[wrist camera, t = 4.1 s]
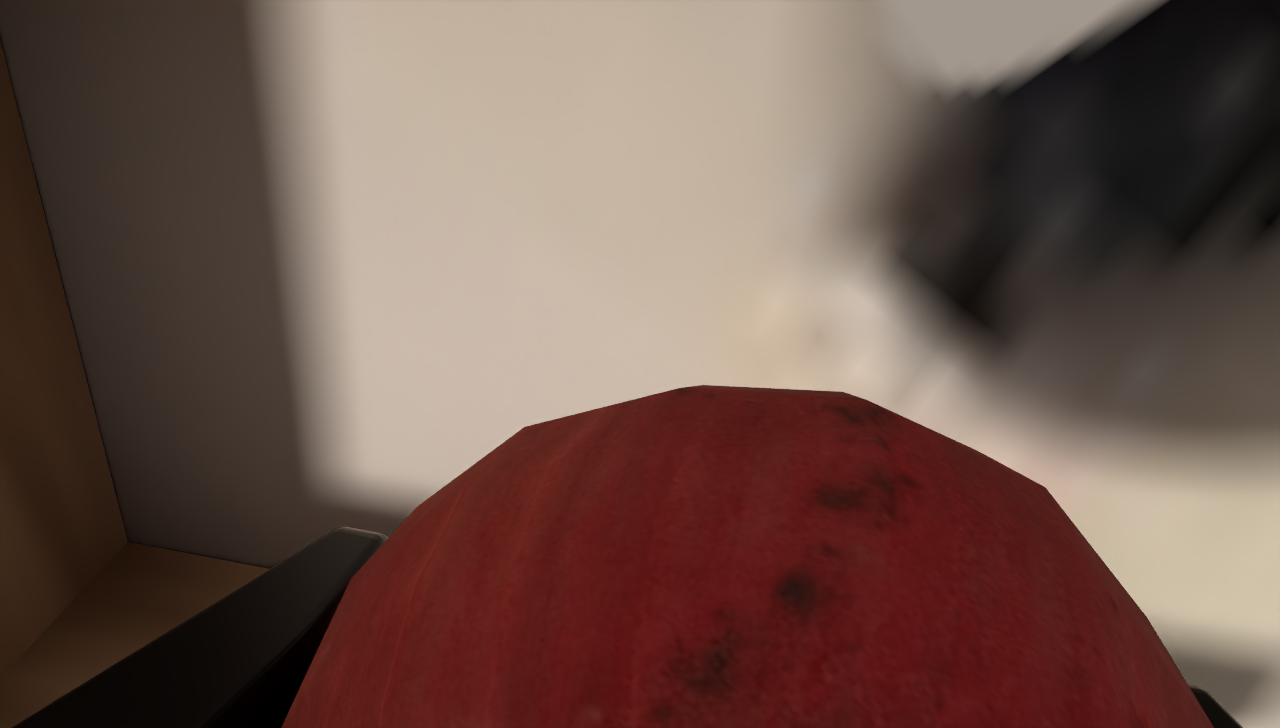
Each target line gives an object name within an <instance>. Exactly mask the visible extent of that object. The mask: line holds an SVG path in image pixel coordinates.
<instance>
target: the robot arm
mask: <svg viewBox="0 0 1280 728" xmlns="http://www.w3.org/2000/svg"><path fill="white" fill-rule="evenodd" d="M387 539H388V537H387V536H386V535H384V534H382V533H378V532H372V531H367V530H362V529H356V528H351V527H341V528H338V529H335V530H333V531H331V532H330V533H328V534H326V535H325V536H323V537H321V538H320V539H318V540H316V541H315V542H313V543H312V544H310V545H308V546H307V547H305V548H303V549H302V550H300V551H299V552H297V553H295V554H294V555H292V556H290V557H289V558H287V559H285V560H284V561H282V562H281V563H279V564H277V565H276V566H274V567H272V568H271V569H269V570H267V571H266V572H264V573H263V574H261V575H259V576H258V577H256V578H254V579H253V580H251V581H250V582H248V583H246V584H245V585H243V586H241V587H240V588H238V589H236V590H235V591H233V592H232V593H230V594H228V595H227V596H225V597H223V598H222V599H220V600H219V601H217V602H215V603H214V604H212V605H210V606H209V607H207V608H205V609H204V610H202V611H201V612H199V613H197V614H196V615H194V616H192V617H191V618H189V619H187V620H186V621H184V622H183V623H181V624H179V625H178V626H176V627H174V628H173V629H171V630H170V631H168V632H166V633H165V634H163V635H161V636H160V637H158V638H156V639H155V640H153V641H152V642H150V643H148V644H147V645H145V646H143V647H142V648H140V649H138V650H137V651H135V652H134V653H132V654H130V655H129V656H127V657H125V658H124V659H122V660H121V661H119V662H117V663H116V664H114V665H112V666H111V667H109V668H107V669H106V670H104V671H103V672H101V673H99V674H98V675H96V676H94V677H93V678H91V679H89V680H88V681H86V682H85V683H83V684H81V685H80V686H78V687H76V688H75V689H73V690H72V691H70V692H68V693H67V694H65V695H63V696H62V697H60V698H58V699H57V700H55V701H54V702H52V703H50V704H49V705H47V706H45V707H44V708H42V709H41V710H39V711H37V712H36V713H34V714H32V715H31V716H29V717H27V718H26V719H24V720H23V721H21V722H19V723H18V724H16V725H14V726H13V727H11V728H281V727H282V725H283V723H284V721H285V719H286V717H287V714H288V712H289V710H290V708H291V706H292V704H293V701H294V699H295V697H296V695H297V693H298V691H299V688H300V686H301V684H302V682H303V680H304V678H305V675H306V673H307V671H308V669H309V667H310V665H311V663H312V661H313V658H314V656H315V654H316V652H317V650H318V648H319V646H320V644H321V641H322V639H323V637H324V635H325V633H326V631H327V629H328V626H329V624H330V622H331V620H332V618H333V616H334V614H335V612H336V609H337V607H338V605H339V603H340V601H341V599H342V597H343V595H344V592H345V590H346V588H347V586H348V584H349V582H350V580H351V578H352V577H353V576H354V575H355V574H356V573H357V572H358V571H359V570H360V568H361V567H362V566H363V565H364V564H365V563H366V562H367V561H368V560H369V559H370V558H371V557H372V555H373V554H374V553H375V552H376V551H377V550H378V549H379V548H380V547H381V546H382V545H383V543H384V542H385V541H386V540H387ZM1188 686H1189V687H1190V689H1191V691H1192V692H1193V694H1194V696H1195V697H1196V699H1197V701H1198V702H1199V704H1200V706H1201V707H1202V709H1203V710H1204V712H1205V714H1206V715H1207V717H1208V719H1209V720H1210V722H1211V724H1212V725H1213V727H1214V728H1243V727H1242V726H1241V725H1240V724H1239V723H1238V722H1237V721H1236V720H1235V719H1234V718H1233V717H1232V716H1231V715H1230V714H1229V713H1228V712H1227V711H1226V710H1225V709H1224V708H1223V707H1222V706H1221V705H1220V704H1219V703H1218V702H1217V701H1216V700H1215V699H1214V698H1213V697H1212V696H1211V695H1210V694H1209V693H1208V692H1206V691H1205V690H1204V689H1202V688H1200V687H1198V686H1195V685H1192V684H1188Z"/></svg>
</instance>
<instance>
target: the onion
mask: <svg viewBox="0 0 1280 728" xmlns="http://www.w3.org/2000/svg"><path fill="white" fill-rule="evenodd" d="M281 728H1214V727H1213V725H1212V724H1211V722H1210V720H1209V719H1208V717H1207V715H1206V714H1205V712H1204V710H1203V709H1202V707H1201V706H1200V704H1199V702H1198V701H1197V699H1196V697H1195V696H1194V694H1193V692H1192V691H1191V689H1190V687H1189V686H1188V684H1187V683H1186V681H1185V679H1184V678H1183V676H1182V674H1181V673H1180V671H1179V669H1178V668H1177V666H1176V664H1175V663H1174V661H1173V660H1172V658H1171V656H1170V655H1169V653H1168V651H1167V650H1166V648H1165V646H1164V645H1163V643H1162V641H1161V640H1160V638H1159V637H1158V635H1157V633H1156V632H1155V630H1154V628H1153V627H1152V625H1151V623H1150V622H1149V620H1148V618H1147V617H1146V616H1145V614H1144V613H1143V612H1142V611H1141V609H1140V608H1139V607H1138V605H1137V604H1136V603H1135V602H1134V600H1133V599H1132V598H1131V597H1130V595H1129V594H1128V593H1127V591H1126V590H1125V589H1124V588H1123V586H1122V585H1121V584H1120V582H1119V581H1118V580H1117V579H1116V577H1115V576H1114V575H1113V573H1112V572H1111V571H1110V570H1109V568H1108V567H1107V566H1106V565H1105V563H1104V562H1103V561H1102V559H1101V558H1100V557H1099V556H1098V554H1097V553H1096V552H1095V550H1094V549H1093V548H1092V547H1091V545H1090V544H1089V543H1088V541H1087V540H1086V539H1085V538H1084V536H1083V535H1082V534H1081V532H1080V531H1079V530H1078V529H1077V527H1076V526H1075V525H1074V524H1073V522H1072V521H1071V520H1070V518H1069V517H1068V516H1067V515H1066V513H1065V512H1064V511H1063V509H1062V508H1061V507H1060V506H1059V504H1058V503H1057V502H1056V500H1055V499H1054V498H1053V497H1052V495H1051V494H1050V493H1049V492H1048V490H1047V489H1046V488H1045V487H1043V486H1042V485H1040V484H1038V483H1036V482H1034V481H1032V480H1030V479H1029V478H1027V477H1025V476H1023V475H1021V474H1019V473H1018V472H1016V471H1014V470H1012V469H1010V468H1008V467H1006V466H1005V465H1003V464H1001V463H999V462H997V461H995V460H993V459H992V458H990V457H988V456H986V455H984V454H982V453H980V452H979V451H977V450H974V449H972V448H970V447H968V446H966V445H963V444H961V443H959V442H957V441H955V440H953V439H950V438H948V437H946V436H944V435H942V434H939V433H937V432H935V431H933V430H931V429H929V428H926V427H924V426H922V425H920V424H918V423H916V422H913V421H911V420H909V419H907V418H905V417H902V416H900V415H898V414H896V413H894V412H892V411H889V410H887V409H885V408H883V407H881V406H878V405H876V404H874V403H872V402H870V401H868V400H865V399H862V398H859V397H856V396H853V395H850V394H847V393H844V392H832V391H812V390H791V389H771V388H750V387H729V386H709V385H701V386H693V387H685V388H678V389H674V390H670V391H666V392H662V393H658V394H654V395H650V396H646V397H643V398H639V399H635V400H631V401H627V402H623V403H619V404H615V405H611V406H607V407H603V408H599V409H595V410H591V411H587V412H583V413H579V414H575V415H571V416H567V417H563V418H559V419H555V420H551V421H547V422H543V423H539V424H535V425H531V426H527V427H524V428H523V429H521V430H520V431H519V432H517V433H516V434H515V435H513V436H512V437H511V438H509V439H508V440H506V441H505V442H504V443H502V444H501V445H500V446H498V447H497V448H496V449H494V450H493V451H492V452H490V453H489V454H488V455H486V456H485V457H484V458H482V459H481V460H480V461H478V462H477V463H476V464H474V465H473V466H471V467H470V468H469V469H467V470H466V471H465V472H463V473H462V474H461V475H459V476H458V477H457V478H455V479H454V480H453V481H451V482H450V483H449V484H447V485H446V486H445V487H443V488H442V489H441V490H439V491H438V492H436V493H435V494H434V495H432V496H431V497H430V498H428V499H427V500H426V501H424V502H423V503H422V504H420V505H419V506H418V507H417V508H416V509H415V510H414V511H413V512H412V513H411V514H410V515H409V516H408V517H407V518H406V520H405V521H404V522H403V523H402V524H401V525H400V526H399V527H398V528H397V529H396V530H395V531H394V533H393V534H392V535H391V536H390V537H389V538H388V539H387V540H386V541H385V542H384V543H383V545H382V546H381V547H380V548H379V549H378V550H377V551H376V552H375V553H374V554H373V555H372V557H371V558H370V559H369V560H368V561H367V562H366V563H365V564H364V565H363V566H362V567H361V568H360V570H359V571H358V572H357V573H356V574H355V575H354V576H353V577H352V578H351V580H350V582H349V584H348V586H347V588H346V590H345V592H344V595H343V597H342V599H341V601H340V603H339V605H338V607H337V609H336V612H335V614H334V616H333V618H332V620H331V622H330V624H329V626H328V629H327V631H326V633H325V635H324V637H323V639H322V641H321V644H320V646H319V648H318V650H317V652H316V654H315V656H314V658H313V661H312V663H311V665H310V667H309V669H308V671H307V673H306V675H305V678H304V680H303V682H302V684H301V686H300V688H299V691H298V693H297V695H296V697H295V699H294V701H293V704H292V706H291V708H290V710H289V712H288V714H287V717H286V719H285V721H284V723H283V725H282V727H281Z"/></svg>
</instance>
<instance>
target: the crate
mask: <svg viewBox="0 0 1280 728" xmlns="http://www.w3.org/2000/svg"><path fill="white" fill-rule="evenodd" d="M267 570H269V569H268V568H263V567H258V566H253V565H247V564H242V563H237V562H231V561H226V560H221V559H216V558H210V557H205V556H200V555H194V554H189V553H184V552H179V551H173V550H168V549H163V548H157V547H152V546H147V545H142V544H136V543H131V542H128V541H127V537H126V533H125V529H124V525H123V521H122V517H121V513H120V509H119V505H118V501H117V497H116V493H115V490H114V486H113V482H112V478H111V474H110V470H109V466H108V462H107V458H106V454H105V450H104V446H103V442H102V439H101V435H100V431H99V427H98V423H97V419H96V415H95V411H94V407H93V403H92V399H91V395H90V391H89V387H88V384H87V380H86V376H85V372H84V368H83V364H82V360H81V356H80V352H79V348H78V344H77V340H76V336H75V332H74V329H73V325H72V321H71V317H70V313H69V309H68V305H67V301H66V297H65V293H64V289H63V285H62V281H61V277H60V274H59V270H58V266H57V262H56V258H55V254H54V250H53V246H52V242H51V238H50V234H49V230H48V226H47V223H46V219H45V215H44V211H43V207H42V203H41V199H40V195H39V191H38V187H37V183H36V179H35V175H34V171H33V168H32V164H31V160H30V156H29V152H28V148H27V144H26V140H25V136H24V132H23V128H22V124H21V120H20V116H19V113H18V109H17V105H16V101H15V97H14V93H13V89H12V85H11V81H10V77H9V73H8V69H7V65H6V61H5V58H4V54H3V50H2V46H1V42H0V728H11V727H13V726H14V725H16V724H18V723H19V722H21V721H23V720H24V719H26V718H27V717H29V716H31V715H32V714H34V713H36V712H37V711H39V710H41V709H42V708H44V707H45V706H47V705H49V704H50V703H52V702H54V701H55V700H57V699H58V698H60V697H62V696H63V695H65V694H67V693H68V692H70V691H72V690H73V689H75V688H76V687H78V686H80V685H81V684H83V683H85V682H86V681H88V680H89V679H91V678H93V677H94V676H96V675H98V674H99V673H101V672H103V671H104V670H106V669H107V668H109V667H111V666H112V665H114V664H116V663H117V662H119V661H121V660H122V659H124V658H125V657H127V656H129V655H130V654H132V653H134V652H135V651H137V650H138V649H140V648H142V647H143V646H145V645H147V644H148V643H150V642H152V641H153V640H155V639H156V638H158V637H160V636H161V635H163V634H165V633H166V632H168V631H170V630H171V629H173V628H174V627H176V626H178V625H179V624H181V623H183V622H184V621H186V620H187V619H189V618H191V617H192V616H194V615H196V614H197V613H199V612H201V611H202V610H204V609H205V608H207V607H209V606H210V605H212V604H214V603H215V602H217V601H219V600H220V599H222V598H223V597H225V596H227V595H228V594H230V593H232V592H233V591H235V590H236V589H238V588H240V587H241V586H243V585H245V584H246V583H248V582H250V581H251V580H253V579H254V578H256V577H258V576H259V575H261V574H263V573H264V572H266V571H267Z"/></svg>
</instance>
